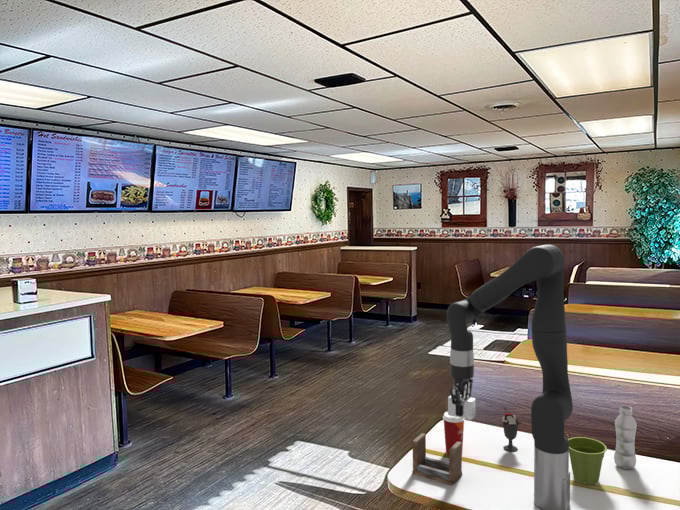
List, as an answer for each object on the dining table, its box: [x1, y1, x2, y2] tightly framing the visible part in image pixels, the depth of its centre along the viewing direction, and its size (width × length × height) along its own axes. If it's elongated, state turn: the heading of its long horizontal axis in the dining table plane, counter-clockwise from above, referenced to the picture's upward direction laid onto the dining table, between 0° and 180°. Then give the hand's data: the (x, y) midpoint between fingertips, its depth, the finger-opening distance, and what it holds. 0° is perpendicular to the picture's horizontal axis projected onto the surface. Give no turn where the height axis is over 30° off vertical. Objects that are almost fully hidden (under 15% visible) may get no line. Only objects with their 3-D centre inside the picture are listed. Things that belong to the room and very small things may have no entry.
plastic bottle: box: [613, 405, 638, 470], centre depth 170 cm, size 6×7×20 cm
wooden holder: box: [411, 432, 463, 486], centre depth 169 cm, size 14×8×11 cm, turn 56°
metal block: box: [447, 394, 477, 421], centre depth 170 cm, size 8×4×6 cm, turn 55°
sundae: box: [500, 407, 521, 453], centre depth 185 cm, size 7×7×15 cm
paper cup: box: [442, 411, 466, 456], centre depth 184 cm, size 8×8×14 cm
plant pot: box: [567, 436, 608, 486], centre depth 164 cm, size 12×12×11 cm
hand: (461, 413), depth 170 cm, fingers closed on metal block, 3 cm apart
